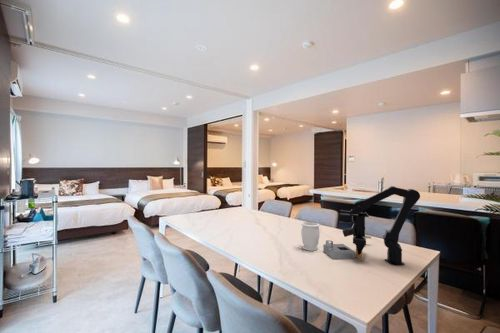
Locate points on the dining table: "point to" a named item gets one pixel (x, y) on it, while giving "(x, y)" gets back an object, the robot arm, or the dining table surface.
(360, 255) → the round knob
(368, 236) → the pipe connector
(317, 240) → the jar
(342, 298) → the dining table surface
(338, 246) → the grey slotted base
